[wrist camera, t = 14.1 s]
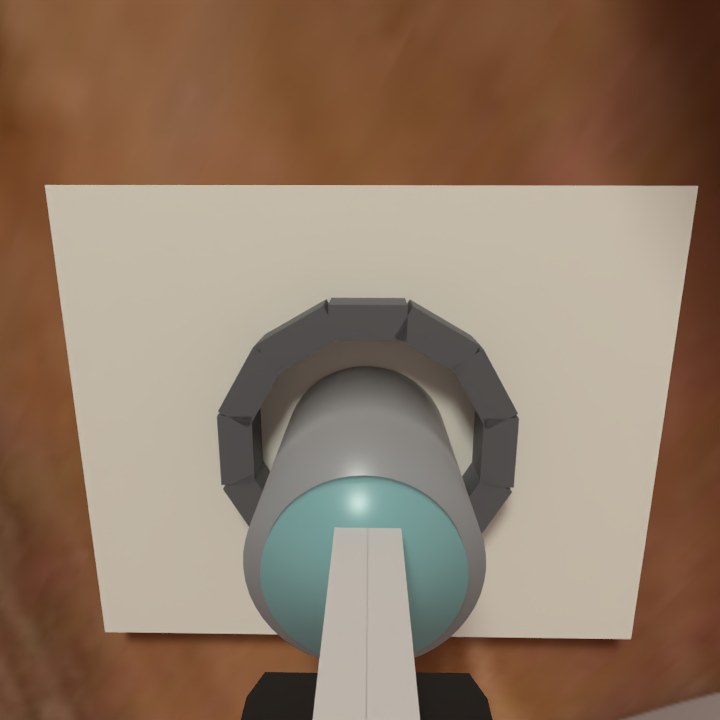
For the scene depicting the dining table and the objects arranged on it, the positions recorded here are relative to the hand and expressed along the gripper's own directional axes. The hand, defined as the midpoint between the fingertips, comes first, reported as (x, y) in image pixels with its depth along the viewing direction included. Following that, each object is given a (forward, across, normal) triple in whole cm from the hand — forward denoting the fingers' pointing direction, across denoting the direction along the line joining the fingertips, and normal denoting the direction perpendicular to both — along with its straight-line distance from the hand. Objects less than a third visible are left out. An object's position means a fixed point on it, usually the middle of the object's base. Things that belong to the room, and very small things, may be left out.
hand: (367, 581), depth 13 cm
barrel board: (+10, 0, 0) cm, 10 cm away
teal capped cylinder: (+9, 0, 0) cm, 9 cm away
